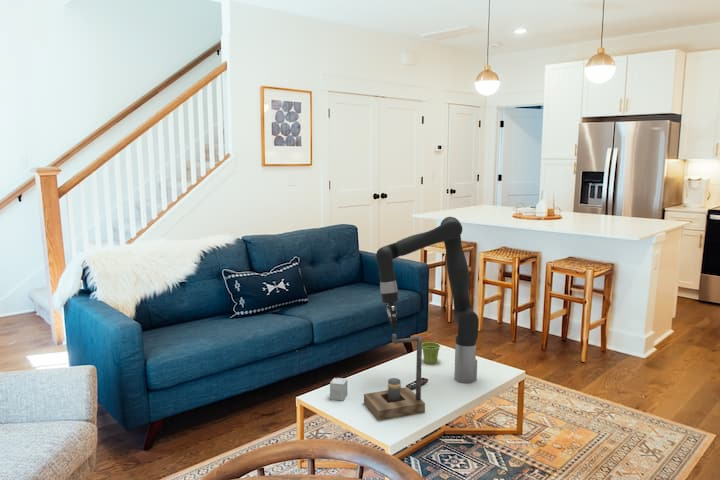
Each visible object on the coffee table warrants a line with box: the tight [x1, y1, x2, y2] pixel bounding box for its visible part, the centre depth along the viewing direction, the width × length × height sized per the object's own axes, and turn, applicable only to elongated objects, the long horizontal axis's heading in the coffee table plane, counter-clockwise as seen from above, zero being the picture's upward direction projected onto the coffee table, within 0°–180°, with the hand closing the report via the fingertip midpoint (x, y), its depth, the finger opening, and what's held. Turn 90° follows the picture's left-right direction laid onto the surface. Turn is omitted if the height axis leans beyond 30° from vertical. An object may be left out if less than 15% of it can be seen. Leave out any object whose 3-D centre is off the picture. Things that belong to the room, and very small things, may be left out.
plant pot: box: [422, 341, 441, 365], centre depth 272 cm, size 9×9×9 cm
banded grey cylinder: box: [387, 377, 402, 403], centre depth 224 cm, size 5×5×11 cm
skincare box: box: [329, 377, 348, 401], centre depth 232 cm, size 6×6×7 cm
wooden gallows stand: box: [363, 333, 426, 422], centre depth 221 cm, size 20×16×32 cm
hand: (393, 327), depth 245 cm, fingers open, 8 cm apart
